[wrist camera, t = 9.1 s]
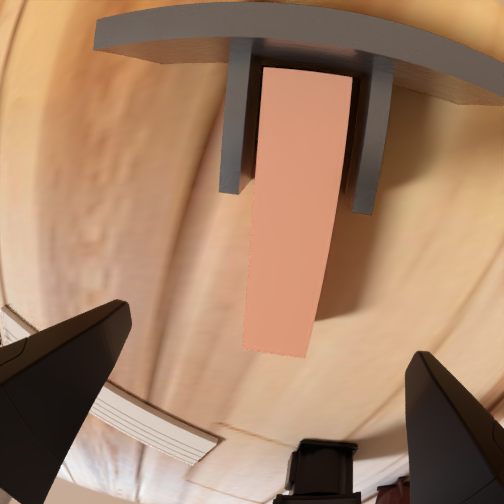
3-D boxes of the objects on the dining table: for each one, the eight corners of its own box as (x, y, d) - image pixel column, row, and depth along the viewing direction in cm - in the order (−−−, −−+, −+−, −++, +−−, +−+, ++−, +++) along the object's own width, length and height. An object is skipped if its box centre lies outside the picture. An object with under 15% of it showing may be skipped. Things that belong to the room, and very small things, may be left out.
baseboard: (189, 462, 37) (220, 433, 32) (184, 478, 35) (214, 453, 29) (14, 355, 36) (7, 302, 30) (4, 366, 33) (-7, 314, 28)
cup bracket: (459, 81, 13) (525, 75, 7) (437, 212, 17) (487, 262, 11) (163, 42, 16) (97, 19, 9) (156, 170, 19) (91, 201, 13)
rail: (307, 320, 22) (305, 358, 19) (253, 312, 23) (242, 348, 19) (343, 85, 16) (352, 77, 12) (273, 77, 16) (263, 67, 12)
